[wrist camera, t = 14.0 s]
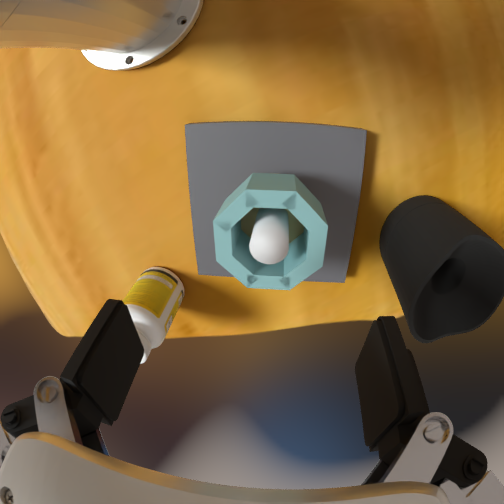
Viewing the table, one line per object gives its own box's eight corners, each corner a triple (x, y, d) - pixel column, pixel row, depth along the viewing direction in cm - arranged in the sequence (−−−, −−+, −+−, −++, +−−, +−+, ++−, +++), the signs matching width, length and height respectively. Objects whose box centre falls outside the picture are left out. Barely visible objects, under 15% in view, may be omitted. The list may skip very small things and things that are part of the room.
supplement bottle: (133, 269, 30) (90, 328, 21) (173, 261, 28) (134, 327, 20) (154, 306, 32) (121, 368, 24) (193, 301, 31) (164, 370, 22)
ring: (224, 172, 20) (210, 189, 16) (323, 176, 19) (331, 193, 15) (228, 256, 23) (218, 285, 20) (314, 260, 22) (318, 291, 19)
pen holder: (415, 288, 27) (448, 357, 18) (355, 248, 25) (382, 322, 17) (468, 224, 22) (522, 278, 14) (414, 169, 21) (476, 213, 12)
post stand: (190, 123, 21) (147, 135, 14) (361, 128, 20) (397, 142, 13) (202, 266, 28) (177, 320, 21) (342, 273, 27) (356, 331, 20)
